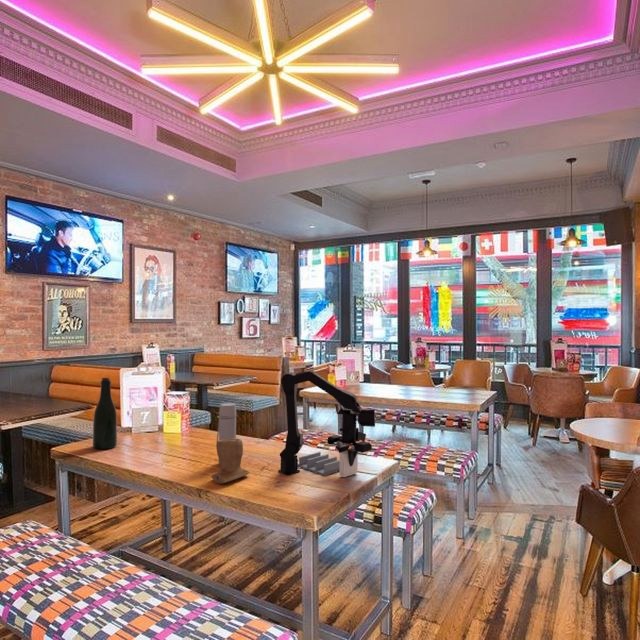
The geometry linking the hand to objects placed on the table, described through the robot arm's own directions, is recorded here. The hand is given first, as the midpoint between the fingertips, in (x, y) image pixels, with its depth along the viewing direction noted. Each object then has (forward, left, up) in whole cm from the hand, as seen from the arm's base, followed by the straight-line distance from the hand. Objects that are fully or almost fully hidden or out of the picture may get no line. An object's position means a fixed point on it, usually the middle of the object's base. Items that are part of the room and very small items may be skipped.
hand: (348, 465), depth 184 cm
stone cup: (-36, +29, -4) cm, 47 cm away
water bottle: (-26, +46, -4) cm, 53 cm away
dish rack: (0, +14, -4) cm, 15 cm away
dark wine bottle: (-53, +106, -4) cm, 119 cm away
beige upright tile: (0, 0, -4) cm, 4 cm away
